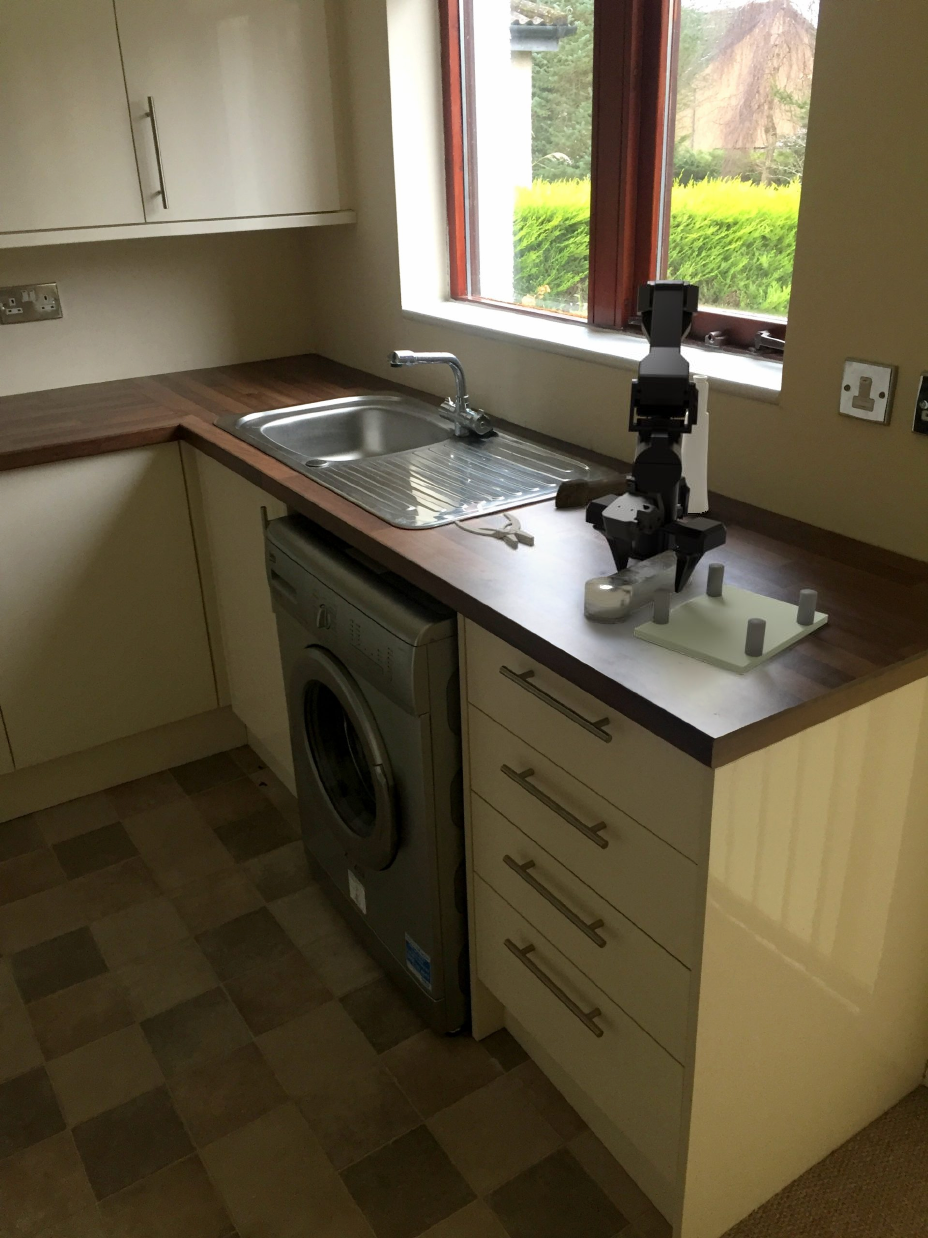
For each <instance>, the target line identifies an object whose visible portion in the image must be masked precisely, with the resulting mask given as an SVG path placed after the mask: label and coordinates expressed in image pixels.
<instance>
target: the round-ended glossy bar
mask: <svg viewBox="0 0 928 1238" xmlns="http://www.w3.org/2000/svg"><path fill="white" fill-rule="evenodd" d="M676 563H677V557H676V556H675V554H674V552H673V551H670V550H668V551H665V552H663V553H661V554H658V555H656V556H654V557H651V558H649V559H647V560H643V561H640V562H638V563H636V564H632V565H630V566H627V568H626V569H624V570H621V571H619V572H614V573H612V574H610V575H608V576H597V577H593V578H590V579H589V580H587V581H585V584H584V600H583V615H584V618H586V619H587V620H589V621H592V622H594V623H598V624H599V623H600V624H607V625H609V624H610V625H611V624H613V625H615V624H620V623H623V622H626V621H628V620H629V619H631V618H632V617H631V615H632V613H634V612H636V611H638V610H641V609H643V608H644V607H646V606H648V605H651V604H654V591H655V590H656V589H660V588H663V589H668V590H670V591H671V595H672V594H673V593H675V573H676ZM692 574H693V573H692ZM692 574H691V576H690V578H689V580H688V581H687V583H686V585H685V587H684V588H686V587H688V586H691V585H692V576H693V575H692Z"/></svg>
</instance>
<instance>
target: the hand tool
mask: <svg viewBox="0 0 928 1238" xmlns="http://www.w3.org/2000/svg"><path fill="white" fill-rule="evenodd" d="M627 476H632V472H630V473H621V474H615V475H612V476H609V477H605V478H600V479H594V480H593V479H592V480H587V479H585V478H584V479H583V478H576V479H570V480H569V479H568V480H565V481H562V482H561V483H560V484H559V486H558V488H557V492H556V494H555V499H554V504H555V505H554V506H555V508H556V509H558V508H560V509H563V508H564V509H567V508H574V507H581V506H586V505H587V503H590V502H591V501H593V500H596V499H599V498H601V497H604V496H607V495H610V494H612V495H616V496H623V495H624V493H625V491H626V479H627Z"/></svg>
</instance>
